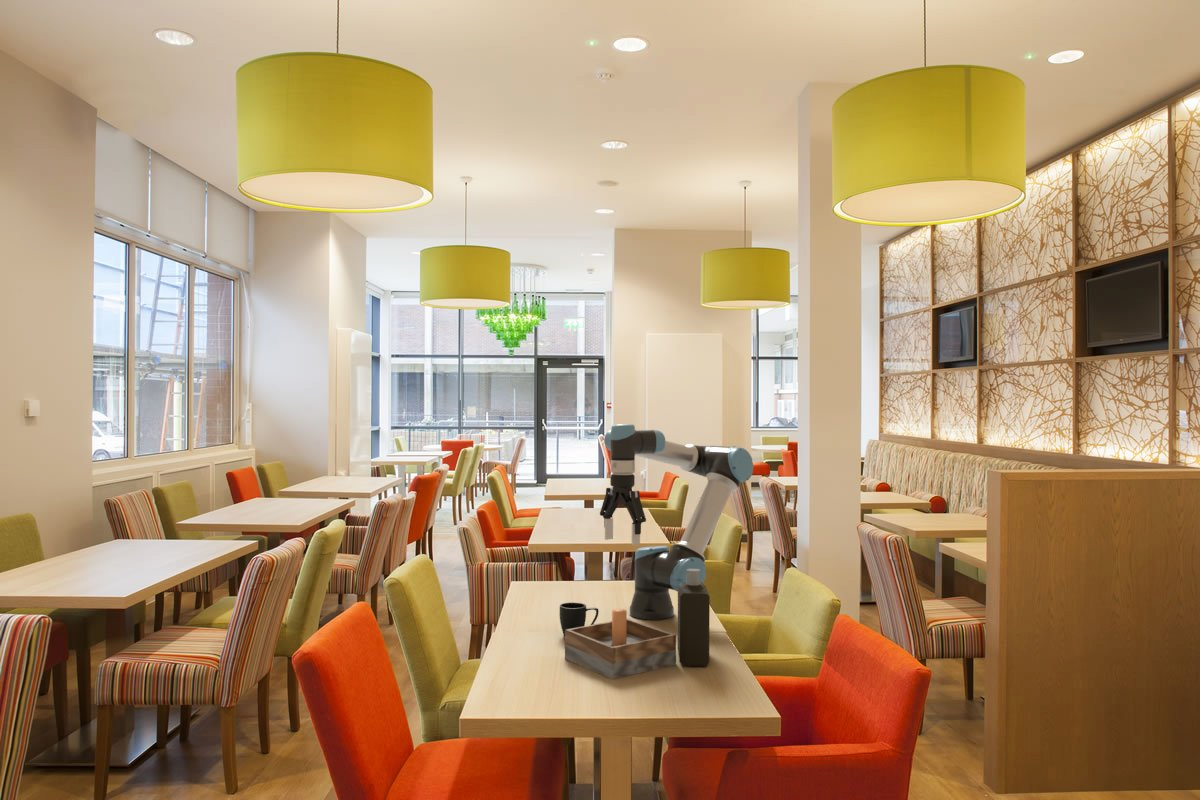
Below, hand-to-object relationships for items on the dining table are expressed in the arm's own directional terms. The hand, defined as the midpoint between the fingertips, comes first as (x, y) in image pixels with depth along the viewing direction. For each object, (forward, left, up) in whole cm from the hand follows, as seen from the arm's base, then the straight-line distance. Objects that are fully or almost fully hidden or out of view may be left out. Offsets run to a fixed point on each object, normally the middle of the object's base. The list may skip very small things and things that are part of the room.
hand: (622, 542), depth 256 cm
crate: (+17, +21, -29) cm, 39 cm away
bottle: (-1, +31, -29) cm, 42 cm away
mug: (+12, -6, -29) cm, 32 cm away
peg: (+17, +21, -29) cm, 39 cm away
